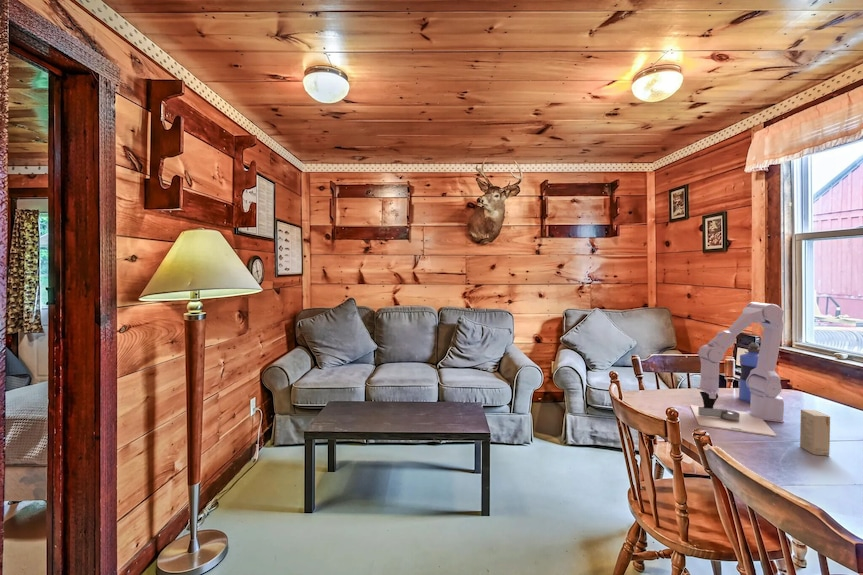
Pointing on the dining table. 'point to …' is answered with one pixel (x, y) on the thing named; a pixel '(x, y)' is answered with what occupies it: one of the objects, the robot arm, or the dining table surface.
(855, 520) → the dining table surface
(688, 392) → the dining table surface
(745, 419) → the base
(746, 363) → the water bottle
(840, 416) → the dining table surface
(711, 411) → the twist lock
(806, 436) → the skincare box
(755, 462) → the dining table surface
